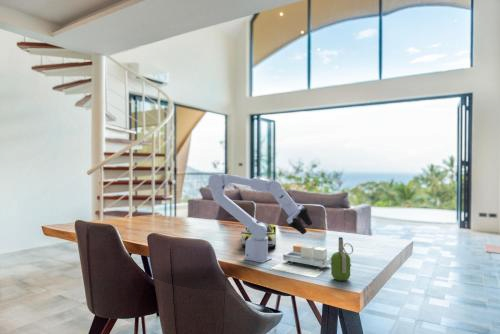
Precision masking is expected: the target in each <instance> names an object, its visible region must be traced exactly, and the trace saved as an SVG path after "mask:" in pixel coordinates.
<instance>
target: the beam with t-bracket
mask: <svg viewBox="0 0 500 334" xmlns="http://www.w3.org/2000/svg"><path fill="white" fill-rule="evenodd" d="M282 257H283V260H284V261H287V264H288V263H291V262H292V261H293V263H299V264H305V265H311V266H315V267H316V269H320V270H321V269H322V268H321V267H323V268H325V267H327V266H328V265H331V264H330V263H331V257H327V259H326V260H324V261H319V260H313V259H307V258H301V253H297V252H293V251H290V252H287V253H284V254H283V255H282ZM291 264H292V263H291Z"/></svg>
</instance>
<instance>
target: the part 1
mask: <svg viewBox="0 0 500 334" xmlns="http://www.w3.org/2000/svg"><path fill="white" fill-rule="evenodd" d="M304 245H305V244H304ZM314 248H315V246H313V245H305V246H302V247H301V258H307V259H313V249H314Z"/></svg>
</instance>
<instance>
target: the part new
mask: <svg viewBox="0 0 500 334" xmlns="http://www.w3.org/2000/svg"><path fill="white" fill-rule="evenodd" d="M302 246H305V244H299V243H298V244H297V243H296V244H294V245H293V246H292V252H297V253H301V247H302Z"/></svg>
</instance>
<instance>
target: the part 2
mask: <svg viewBox="0 0 500 334" xmlns="http://www.w3.org/2000/svg"><path fill="white" fill-rule="evenodd" d="M327 252H328V249H327V248H326V247H319V246H318V247H314V249H313V260H319V261H324V260H326V259H327V258H328V253H327Z"/></svg>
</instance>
